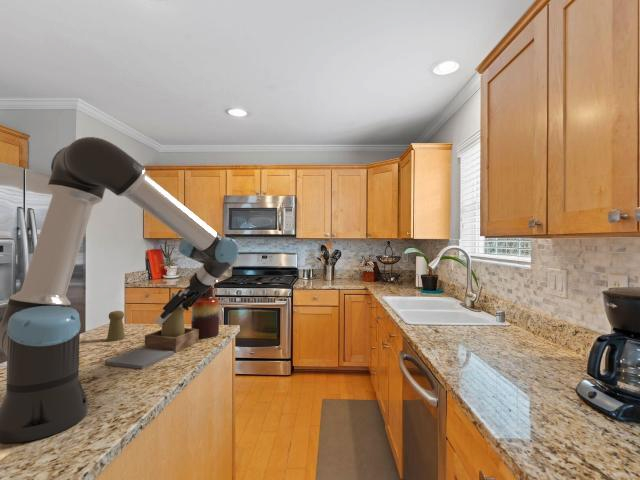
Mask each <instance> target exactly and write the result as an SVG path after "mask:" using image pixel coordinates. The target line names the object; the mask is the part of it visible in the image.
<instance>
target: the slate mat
mask: <svg viewBox="0 0 640 480" xmlns="http://www.w3.org/2000/svg"><path fill="white" fill-rule="evenodd" d="M174 355H175V353H174V351H166V350H157V349H147V348H145V347H139V348H136V349H133V350H131V351H128V352H126V353H123V354H120V355H117V356H116V357H112V358H109V359H108V360H105V361H104V365H105V366H106V365H108V366H115V367H121V368H123V367H124V368H129V369H130V368H131V369H137V370H138V369H140V370H143V369H146V368H149V366H152V365H154V364H156V363H159V362H161V361H162V360H165V359H167V358H170V357H171V356H174Z"/></svg>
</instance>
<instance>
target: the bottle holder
mask: <svg viewBox="0 0 640 480" xmlns="http://www.w3.org/2000/svg"><path fill="white" fill-rule="evenodd" d="M184 328H185V332H184V334H183V335H180V336H178V337H167V336H162V334H161V331H162V329H160V330H155V331H154V332H151V333H148V334H145V335H144V348H147V349H157V350H166V351H174V354H175V353H178V352H180V351H182V350H184V349H186V348H189V347H192V346H193V345H196V344H198V343H199V342H200V341H199V340H200V339H199V329H191V328H190V327H189V328H188V327H184Z"/></svg>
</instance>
